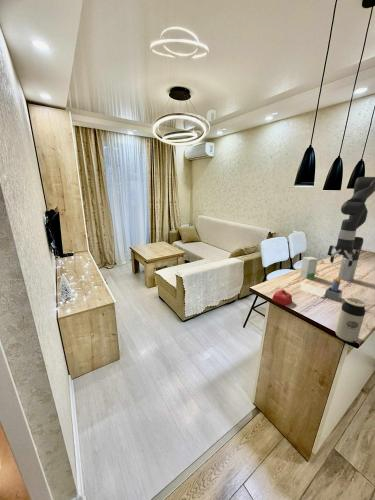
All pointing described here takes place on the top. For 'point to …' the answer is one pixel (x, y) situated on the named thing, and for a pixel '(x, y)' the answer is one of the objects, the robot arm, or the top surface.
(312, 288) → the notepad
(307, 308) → the top surface
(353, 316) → the travel mug
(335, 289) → the marker
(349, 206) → the robot arm
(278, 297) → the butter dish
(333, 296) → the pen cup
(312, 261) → the skincare box
